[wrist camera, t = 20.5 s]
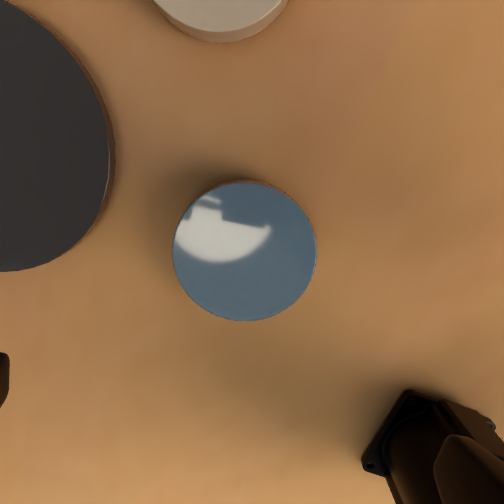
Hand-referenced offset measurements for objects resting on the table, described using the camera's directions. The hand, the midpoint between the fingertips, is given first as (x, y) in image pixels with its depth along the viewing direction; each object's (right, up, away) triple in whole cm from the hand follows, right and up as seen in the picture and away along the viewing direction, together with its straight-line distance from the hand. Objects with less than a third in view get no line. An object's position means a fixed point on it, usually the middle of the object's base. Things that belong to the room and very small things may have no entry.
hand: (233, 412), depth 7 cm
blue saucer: (0, +4, +12) cm, 13 cm away
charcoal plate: (-13, +9, +11) cm, 19 cm away
